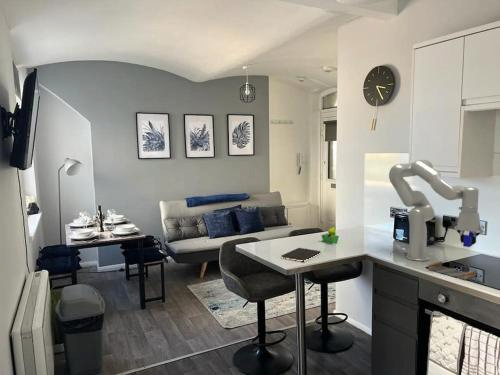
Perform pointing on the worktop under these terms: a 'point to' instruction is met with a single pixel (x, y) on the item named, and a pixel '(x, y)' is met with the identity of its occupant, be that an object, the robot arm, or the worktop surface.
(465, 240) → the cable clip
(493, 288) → the worktop surface
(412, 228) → the robot arm
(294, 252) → the dark spiral notebook
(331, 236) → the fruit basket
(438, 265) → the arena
